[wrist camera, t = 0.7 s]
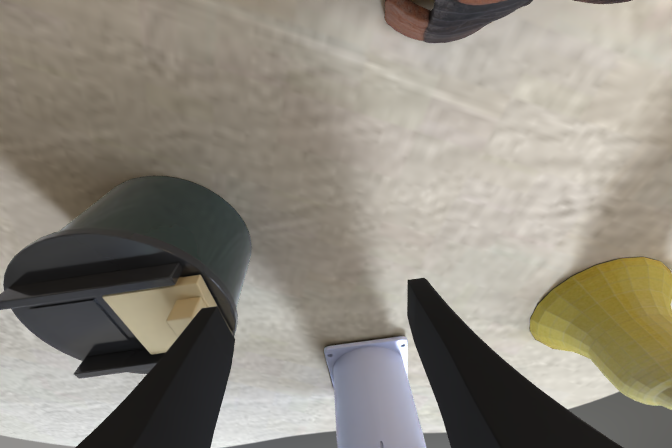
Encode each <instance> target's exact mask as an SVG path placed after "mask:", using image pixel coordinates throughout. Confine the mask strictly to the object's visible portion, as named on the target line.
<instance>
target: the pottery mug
mask: <svg viewBox="0 0 672 448" xmlns="http://www.w3.org/2000/svg"><path fill="white" fill-rule="evenodd" d="M532 1H533V0H435V3H434V8H433V9H432V10H431V11H430V10H428V9H426V8H423V7H421V6H418V5H417V4H415V3H413V2H411V1H410V0H385V21H386V22H387V24H388V25H390V26H391V27H392V28H393V29H395V30H396V31H398V32H400V33H401V34H403V35H405V36H407V37H410V38H413V39H417V40H421V41H425V42H429V43H446V42H451V41H455V40H459V39H462V38H465V37H467V36H469V35H471V34H473V33H475V32H476V31H478V30H479V29H481V28H482V27H484V26H485V25H487V24H489V23H491V22H492V21H495V20H498V19H500V18H502V17H504V16H506V15H508V14H510V13H511V12H513V11H515V10H516V9H518V8H520V7H522V6H526V5H528V4H530V3H531V2H532ZM574 1H580V2H585V3H593V4H612V3H622V2H628V1H631V0H574Z"/></svg>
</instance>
